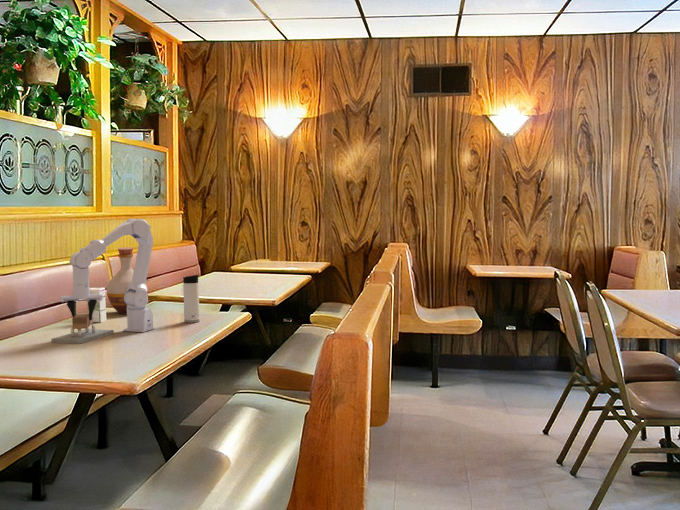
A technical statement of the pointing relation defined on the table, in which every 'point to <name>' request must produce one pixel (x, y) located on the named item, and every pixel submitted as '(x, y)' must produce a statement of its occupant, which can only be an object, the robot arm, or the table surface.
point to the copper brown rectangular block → (81, 320)
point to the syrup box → (99, 306)
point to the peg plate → (82, 335)
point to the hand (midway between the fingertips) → (82, 320)
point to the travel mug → (191, 298)
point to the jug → (121, 281)
